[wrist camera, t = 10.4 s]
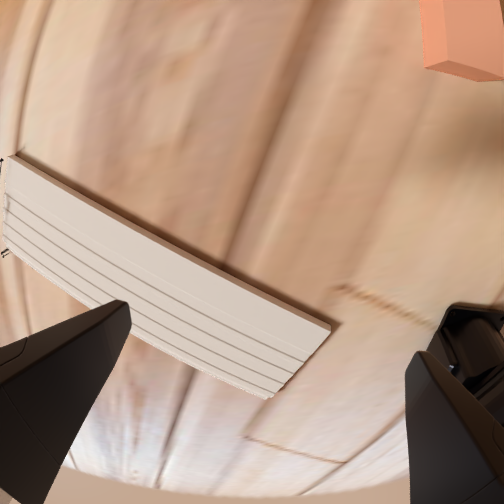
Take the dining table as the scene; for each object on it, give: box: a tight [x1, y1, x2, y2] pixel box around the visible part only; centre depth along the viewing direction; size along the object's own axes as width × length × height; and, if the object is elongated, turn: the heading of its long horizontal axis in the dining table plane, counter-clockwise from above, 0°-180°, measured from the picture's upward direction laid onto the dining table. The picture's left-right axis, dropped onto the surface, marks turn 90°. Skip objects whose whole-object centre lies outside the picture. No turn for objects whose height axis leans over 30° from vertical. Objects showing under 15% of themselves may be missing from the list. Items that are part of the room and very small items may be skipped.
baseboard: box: [0, 155, 331, 400], centre depth 24 cm, size 31×3×12 cm
